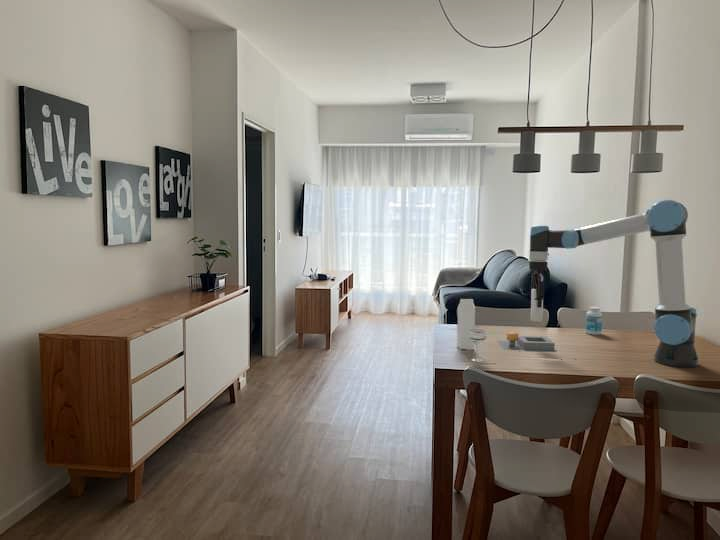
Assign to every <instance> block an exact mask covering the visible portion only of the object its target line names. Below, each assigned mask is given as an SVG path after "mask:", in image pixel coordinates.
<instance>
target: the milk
mask: <svg viewBox="0 0 720 540" xmlns="http://www.w3.org/2000/svg"><path fill="white" fill-rule="evenodd" d="M475 321H476V306H475V303H474V299H473V298H460V300H459V303H458V305H457V336H456V338H457V339H456V347H457V346H458V347H459V348H460V349H459V348H458V347H457V348H458V349H459V350H461V349H466V351H468V350H469V351H470V350H471V351H472V350H474V349H475V343H473V342H472V341H471V340H470V338H469V334H470V331H469V330H472V329H476V328H475V327H476V326H475V325H476V323H475ZM467 349H468V350H467Z"/></svg>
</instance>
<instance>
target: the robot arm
mask: <svg viewBox="0 0 720 540" xmlns="http://www.w3.org/2000/svg"><path fill="white" fill-rule="evenodd" d="M688 215H689V213H688V209H687V208H686V207H685V206H684V204H682V203H681V202H678V201H676V200H672V199H664V200H660V201H658V202H656V203H654V204H653V205H651V207H650V208H649V209H646V210H645V212H644V213H643V212H642V213H638V214H635V215H630V216H626V217H621V218H618V219H612V220H608V221H605V222H601V223H595V224H592V225H588V226H584V227H580V228H575V229H574V228H573V229H567V230H559V229H558V230H552V229H550V227H549V226H548V225H533V226H530V227H531V228H530V235H529V260H530V261H529V270H530V271H533V272H532V273H531V275H530V277H531V279H530V281H531V282H530V283H531V285H530V292H531V291H532V289H536V298H535V300H536V302H535V315H542V300H543V301H544V299H545V284H546V283H545V280H546V276H545V275H544V271H547V270H548V265H549V264H548V257H549V255H550V254H549V249H550V248H551V249H552V248H553V249H569V250H570V249H576V248H577V247H579V246H580V247H581V246H583V245H588V244H594V243H597V242H602V241H608V240H612V239H618V238H622V237H627V236H631V235H636V234H640V233H646V232H649V233H650V238H651V239H652V240H653V241H654V242H655V257H656V274H657V276H656V277H657V290H658V304H657V306H655V307H654V314H655V322H654V325H653V331H654V334H655V335H656V337H657V338H658V339H659V340H660V342H659V344H658V346H657V349H656V350H655V353H654V355H653V360H654V362H657V363H659V364H662V365H665V366H666V365H667V366H671V367H679V368H695V367H697V366H699V359H698V354H697V351H696V347H695V337H696V335H695V334H696V321H697V315H698V314H697V309H696V308H695V307H691V306H690V305H688V304H687V303H686V290H685V289H686V288H685V287H686V286H685V273H684V256H683V254H684V253H683V239H684V238H685V237H686V236H687V225H686V223H687V221H688V217H689V216H688Z"/></svg>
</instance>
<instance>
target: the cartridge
mask: <svg viewBox="0 0 720 540" xmlns="http://www.w3.org/2000/svg"><path fill="white" fill-rule="evenodd" d="M535 298H536V289H532V291H531V290H530V322H536V323H539V322H540V323H541V322H543V319H544V318H543V316H544V313H543V312H544V299H543V300H542V315H535V302H536V300H535Z"/></svg>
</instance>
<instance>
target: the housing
mask: <svg viewBox="0 0 720 540" xmlns="http://www.w3.org/2000/svg"><path fill="white" fill-rule="evenodd" d="M497 343H498V344H499V345H500V346H501V348H503V350H504V351H505V350H506V351H534V352H535V351H540V352H541V351H542V352H557V350H556V349H555V342H554V341H553V340H551V339H550V338H549V337H547V336H538V335H536V336H535V335H518V341H509V340H506V341H505V340H504V341H503V340H497Z"/></svg>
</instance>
